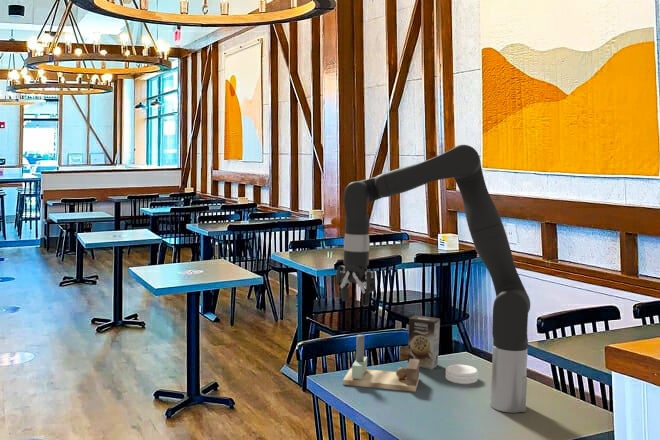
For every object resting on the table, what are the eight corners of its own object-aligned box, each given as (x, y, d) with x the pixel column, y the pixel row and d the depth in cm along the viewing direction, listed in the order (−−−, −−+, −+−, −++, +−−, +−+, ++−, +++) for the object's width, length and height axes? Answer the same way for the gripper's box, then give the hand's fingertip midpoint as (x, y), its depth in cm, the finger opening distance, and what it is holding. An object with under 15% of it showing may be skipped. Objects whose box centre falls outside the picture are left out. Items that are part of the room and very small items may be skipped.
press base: (419, 378, 196) (419, 358, 195) (415, 391, 184) (416, 370, 184) (350, 372, 201) (351, 352, 200) (342, 384, 189) (343, 363, 189)
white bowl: (484, 382, 194) (484, 371, 194) (456, 386, 190) (457, 375, 190) (465, 373, 203) (466, 362, 203) (439, 376, 200) (439, 365, 199)
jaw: (367, 369, 198) (367, 332, 197) (361, 379, 189) (362, 340, 188) (357, 368, 199) (358, 331, 198) (351, 378, 189) (352, 339, 188)
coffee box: (406, 365, 210) (408, 318, 208) (413, 360, 215) (414, 314, 214) (432, 369, 205) (434, 321, 204) (438, 364, 211) (440, 317, 210)
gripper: (382, 250, 181) (380, 305, 182) (349, 245, 192) (347, 297, 193) (364, 252, 176) (362, 309, 177) (331, 247, 187) (329, 300, 188)
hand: (354, 303), depth 185 cm, fingers open, 8 cm apart
